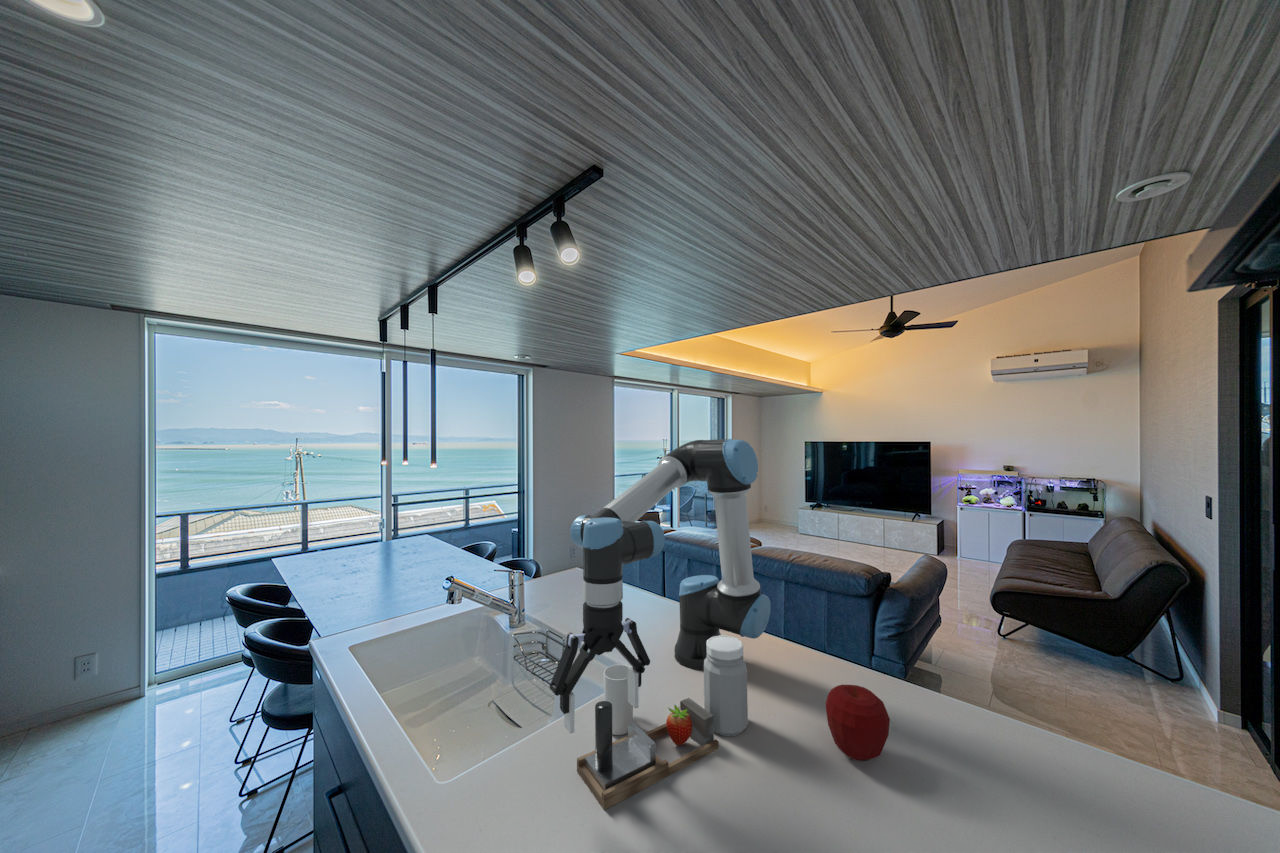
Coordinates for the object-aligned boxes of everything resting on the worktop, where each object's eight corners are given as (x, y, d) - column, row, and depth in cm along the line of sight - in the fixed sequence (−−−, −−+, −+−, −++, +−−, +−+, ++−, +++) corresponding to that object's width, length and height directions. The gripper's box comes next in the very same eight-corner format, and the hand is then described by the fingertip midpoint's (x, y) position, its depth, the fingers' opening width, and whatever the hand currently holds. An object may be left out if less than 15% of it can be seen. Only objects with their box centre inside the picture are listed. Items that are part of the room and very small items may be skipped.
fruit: (688, 735, 95) (687, 697, 95) (695, 752, 90) (694, 712, 90) (664, 738, 94) (663, 700, 94) (670, 755, 89) (669, 715, 89)
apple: (864, 785, 81) (862, 711, 81) (813, 746, 91) (811, 681, 92) (904, 762, 86) (901, 693, 87) (851, 729, 97) (849, 667, 97)
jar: (752, 717, 101) (750, 637, 102) (743, 743, 92) (741, 656, 93) (710, 707, 105) (709, 630, 106) (698, 731, 96) (697, 648, 97)
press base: (685, 721, 100) (684, 694, 100) (718, 749, 91) (718, 719, 91) (576, 771, 85) (576, 739, 85) (604, 810, 76) (604, 774, 76)
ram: (633, 742, 90) (632, 681, 91) (655, 765, 84) (654, 700, 84) (584, 764, 84) (584, 699, 85) (605, 791, 78) (604, 720, 78)
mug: (627, 739, 94) (626, 682, 95) (598, 732, 96) (598, 676, 97) (643, 712, 104) (642, 660, 104) (617, 706, 106) (616, 656, 106)
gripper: (645, 584, 93) (646, 687, 92) (532, 608, 80) (531, 729, 79) (667, 594, 87) (667, 704, 86) (548, 622, 73) (547, 753, 72)
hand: (602, 716), depth 82 cm, fingers open, 13 cm apart
